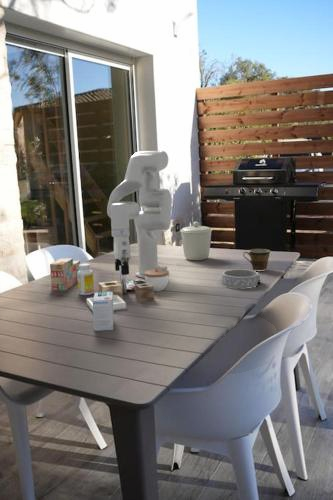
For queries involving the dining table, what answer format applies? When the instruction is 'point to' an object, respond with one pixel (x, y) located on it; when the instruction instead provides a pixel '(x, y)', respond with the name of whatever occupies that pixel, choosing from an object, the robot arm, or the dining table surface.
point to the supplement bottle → (85, 280)
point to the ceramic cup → (259, 258)
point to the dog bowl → (240, 278)
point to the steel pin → (123, 281)
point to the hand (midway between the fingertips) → (122, 272)
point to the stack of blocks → (64, 273)
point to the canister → (196, 241)
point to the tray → (117, 303)
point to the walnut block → (144, 292)
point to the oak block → (111, 288)
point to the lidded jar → (157, 278)
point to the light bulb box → (103, 311)
